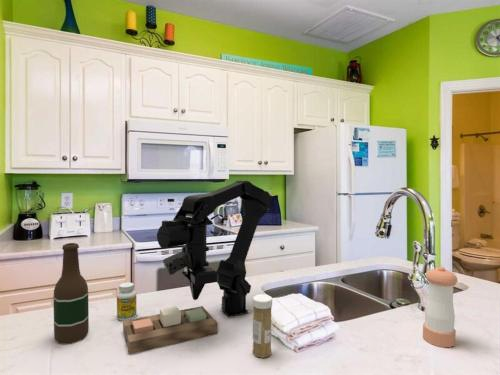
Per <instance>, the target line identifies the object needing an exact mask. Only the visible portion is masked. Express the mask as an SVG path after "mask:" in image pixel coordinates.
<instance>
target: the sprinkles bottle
mask: <svg viewBox="0 0 500 375" xmlns="http://www.w3.org/2000/svg"><path fill="white" fill-rule="evenodd" d="M272 306H273V298H272V296H270V295H267V294H256V295H253V297H252V307H253V311H252V312H253V316H252V317H253V318H252V340H253V341H252V355H254V356H255V357H256V358H268V357H270V356H271V355H272Z"/></svg>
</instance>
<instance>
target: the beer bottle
mask: <svg viewBox="0 0 500 375" xmlns="http://www.w3.org/2000/svg"><path fill="white" fill-rule="evenodd" d="M79 248H80V246H79V244H78V243H76V242H69V243H65V244H63V245H62V247H61V250H63V251H62V252H63V254H62V267H61V268H62V271H61V275H60V278H59V279H58V280H57V282H56V283H55V286H54V290H53V335H54V340H55V341H56V342H57V343H58V344H59V345H67V344H71V345H72V344H74V343H77V342H79V341H82V340H84V339H85V337H87V335H88V334H89V329H90V327H89V324H90V322H89V320H90V319H89V315H90V314H89V287H88V284H87V281H86V279H85V277H83V276H82V274H81V270H80V261H79V260H80V259H79Z"/></svg>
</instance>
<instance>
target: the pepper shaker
mask: <svg viewBox="0 0 500 375" xmlns="http://www.w3.org/2000/svg"><path fill="white" fill-rule="evenodd" d="M425 279H426V281H427V282H428V293H427V302H426V306H425V310H424V322H423V325H422V340H424V341H425V342H426V341H427V342H426V343H428V344H431V345H432V344H433V346H435V345H436V347H438V346H440V347H439V348H444V347H450V348H453V347H452V346H454V345H455V346H456V335H457V334H456V332H457V331H456V329H455V322H456V321H455V319H456V314H455V307H454V286H456V284H457V283H458V277H457V275H456V274H455V273H454V272H452V271H450V270H448V269H446V268H445V267H444V266H438V267H437V268H432V269H428V271H426V274H425ZM455 346H454V347H455Z"/></svg>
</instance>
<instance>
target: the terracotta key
mask: <svg viewBox="0 0 500 375" xmlns="http://www.w3.org/2000/svg"><path fill="white" fill-rule="evenodd" d="M152 330H153V323H152V321H151V319H150V318H148V319H142V320H137V321H132V333H133V334H138V333H143V332H147V331H152Z"/></svg>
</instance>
